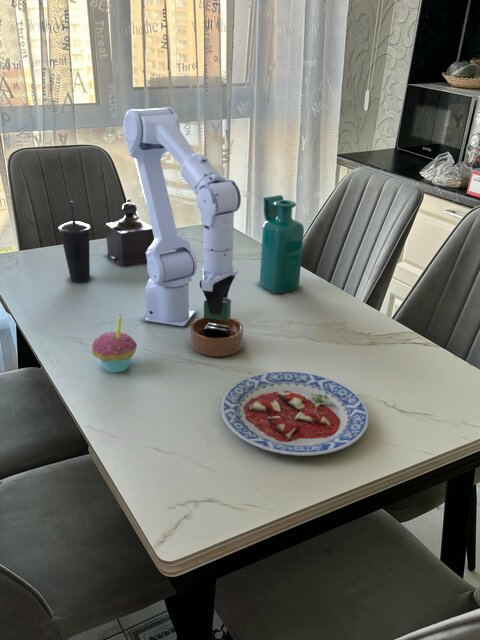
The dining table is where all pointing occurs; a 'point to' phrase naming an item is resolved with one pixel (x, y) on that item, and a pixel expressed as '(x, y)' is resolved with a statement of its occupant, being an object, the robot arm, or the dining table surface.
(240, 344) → the bowl
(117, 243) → the dark brown knobbed box
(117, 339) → the cupcake
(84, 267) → the drinking cup
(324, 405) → the ceramic plate
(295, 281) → the teal green bottle
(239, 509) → the dining table surface
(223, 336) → the black clip
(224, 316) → the green clip
